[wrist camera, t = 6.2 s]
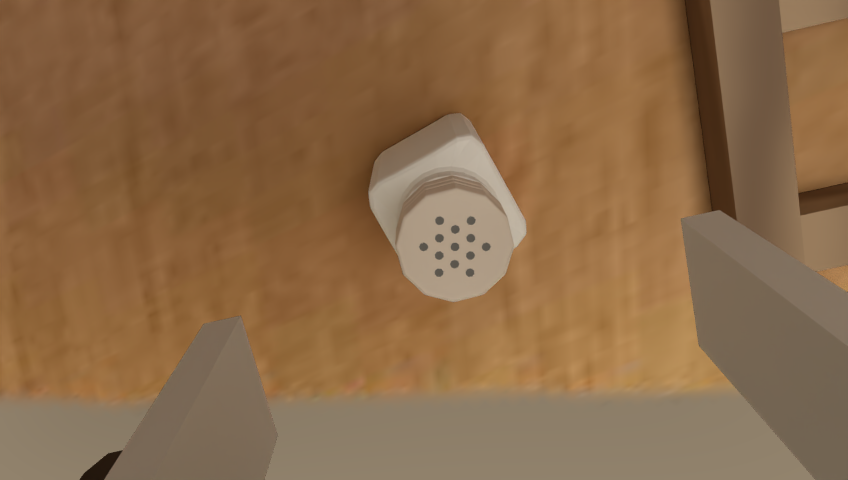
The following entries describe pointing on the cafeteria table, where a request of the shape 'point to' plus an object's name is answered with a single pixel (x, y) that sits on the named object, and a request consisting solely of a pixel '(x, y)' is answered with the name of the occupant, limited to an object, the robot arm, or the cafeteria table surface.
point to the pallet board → (762, 125)
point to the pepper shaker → (446, 210)
